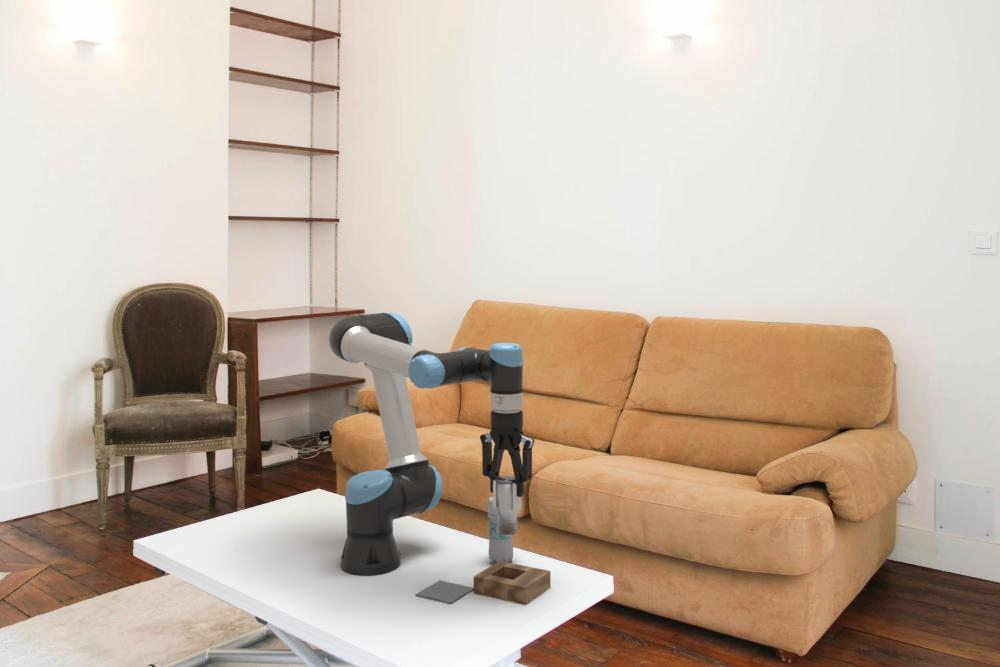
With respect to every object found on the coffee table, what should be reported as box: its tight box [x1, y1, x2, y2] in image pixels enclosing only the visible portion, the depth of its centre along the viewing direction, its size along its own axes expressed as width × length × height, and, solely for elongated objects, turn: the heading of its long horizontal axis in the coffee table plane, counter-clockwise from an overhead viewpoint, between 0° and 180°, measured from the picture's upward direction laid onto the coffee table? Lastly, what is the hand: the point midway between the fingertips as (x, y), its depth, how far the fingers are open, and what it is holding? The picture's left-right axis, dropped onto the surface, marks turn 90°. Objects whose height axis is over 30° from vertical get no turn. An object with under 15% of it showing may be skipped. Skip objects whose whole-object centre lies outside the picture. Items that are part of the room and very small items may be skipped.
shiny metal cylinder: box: [497, 475, 518, 535], centre depth 215 cm, size 5×5×13 cm
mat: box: [415, 580, 474, 605], centre depth 215 cm, size 10×10×1 cm
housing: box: [473, 561, 551, 606], centre depth 216 cm, size 14×12×4 cm
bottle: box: [486, 495, 514, 565], centre depth 234 cm, size 7×7×20 cm
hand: (507, 507), depth 215 cm, fingers closed on shiny metal cylinder, 5 cm apart
